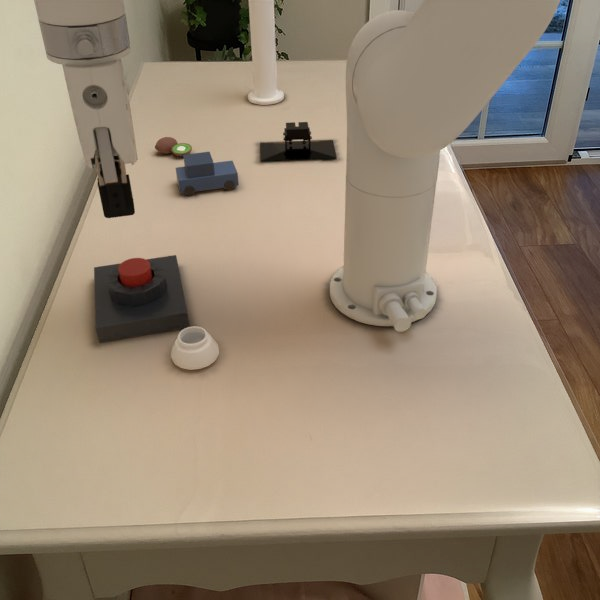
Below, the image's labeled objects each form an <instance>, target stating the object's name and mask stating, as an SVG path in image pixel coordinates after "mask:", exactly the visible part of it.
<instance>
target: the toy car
mask: <svg viewBox="0 0 600 600" xmlns="http://www.w3.org/2000/svg"><path fill="white" fill-rule="evenodd" d="M182 157H183V163H184V166H178V167H175V174H176V182H177V185H178V189H179V193H180V194H185V195H186V196H188V197H191V196H193V195H194V194H195V193H196V192H201V191H209V190H210V191H211V190H216V189H225V190H226V191H233V190H234V189H235V187H239V174H238V173H239V172H238V170H237V168H236V165H235V163H234V160H225V161H217V162H214V160H213V157H212V155H211V151H203V152H194V153H189V154H186V155H183V156H182Z"/></svg>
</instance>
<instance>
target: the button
mask: <svg viewBox="0 0 600 600" xmlns="http://www.w3.org/2000/svg"><path fill="white" fill-rule="evenodd" d="M146 259H147V258H144V257H143V258H142V257H133V258H128V259H126V260H123V261H122V262H120V263H121V264H120V263H119V264H120V265H119V267H118V272H119V276H120V281H121V284H122V285H123V286H127V287H138V286H143V285H145V284H147V283H149V282H150V281H151V280H152V272H151V266H150V263H149V261H147V260H146Z"/></svg>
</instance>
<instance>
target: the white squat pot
mask: <svg viewBox="0 0 600 600" xmlns="http://www.w3.org/2000/svg"><path fill="white" fill-rule="evenodd" d="M170 351H171V352H170V358H171V360H172V362H173V363H174V365H175V366H177V367H179V368H181V369H184V370H190V371H192V370H201V369H204V368H206V367H209V366H210V365H212V364H213V363H215V361H217V359H218V357H219V355H220V348H219V344H218V343H217V342H216V340H215V339H214V338H213V336H212V335H210V333H208V332H207V330H206V329H205V328H203V327H201V326H197V325H196V326H195V325H194V326H190V327H187V328H183V329H181V331H179V333H178V335H177V337H176V340H175V341H174V343H173V345H172V348H171V350H170Z"/></svg>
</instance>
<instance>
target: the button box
mask: <svg viewBox="0 0 600 600" xmlns="http://www.w3.org/2000/svg"><path fill="white" fill-rule="evenodd" d="M145 259H146V260H147V261H149V263H150V266H151V272H152V280H151V281H150V282H149V283H147V284H145V285H143V286H138V287H127V286H123V285H122V284H121V281H120V276H119V272H118V267H119V265H120V264H121V263H122V262H120V263H113V264H107V265H101V266H95V267H93V283H94V284H93V285H94V286H93V287H94V325H95V327H94V328H95V332H96V335H97V339H98V343H100V344H101V343H107V342H113V341H118V340H119V341H120V340H124V339H130V338H136V337H142V336H147V335H153V334H154V335H155V334H158V333H159V334H160V333H164V332H165V333H166V332H171V331H178V330H183V329H185V328H187V327H191V326H190V325H191V324H190V319H189V312H188V306H187V303H186V297H185V291H184V287H183V283H182V278H181V272H180V267H179V262H178V258H177V255H176V254H173V255H167V256H160V257H153V258H148V259H147V258H145Z"/></svg>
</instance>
